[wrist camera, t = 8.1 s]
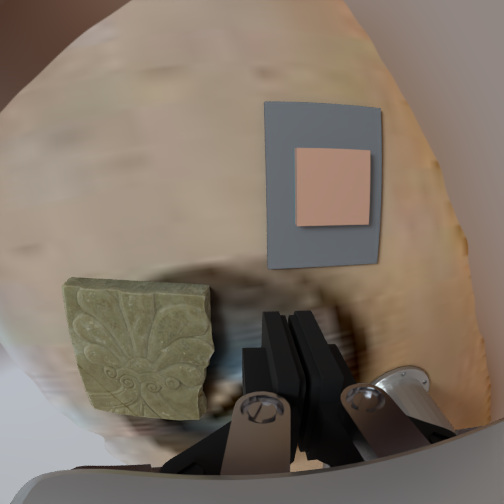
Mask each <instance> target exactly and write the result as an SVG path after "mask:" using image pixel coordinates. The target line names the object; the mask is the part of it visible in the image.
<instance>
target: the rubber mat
mask: <svg viewBox="0 0 504 504" xmlns="http://www.w3.org/2000/svg"><path fill="white" fill-rule="evenodd" d="M264 120H265V158H266V204H267V267H268V269H283V268H303V267H322V266H339V265H357V264H373V263H377V258H378V245H379V231H380V212H381V183H382V136H381V108H373V107H363V106H353V105H341V104H327V103H308V102H264ZM294 148H332V149H355V150H370V208H369V225H326V226H296V225H295V211H294Z"/></svg>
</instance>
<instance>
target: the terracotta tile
mask: <svg viewBox="0 0 504 504" xmlns="http://www.w3.org/2000/svg"><path fill="white" fill-rule="evenodd" d="M369 208H370V150H355V149H332V148H294V211H295V225H296V226H326V225H369Z"/></svg>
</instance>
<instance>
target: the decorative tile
mask: <svg viewBox="0 0 504 504" xmlns="http://www.w3.org/2000/svg"><path fill="white" fill-rule="evenodd" d="M62 293H63V300H64V306H65V312H66V317H67V323H68V328H69V334H70V338H71V342H72V346H73V350H74V354H75V357H76V361H77V365H78V369H79V372H80V375H81V378H82V381H83V384H84V387H85V390H86V393H87V395H88V398H89V400H90V403H91V405H92V407H93V408H95V409H98V410H103V411H108V412H113V413H117V414H124V415H133V416H143V417H150V418H163V419H171V420H190V419H200V417H201V415H202V414H205V413H206V412H207V400H206V397H205V394H204V391H203V383H204V380H205V378H206V375H207V374H206V367H207V366H208V365H209V361H210V357H211V356H212V354H213V352H214V343H213V340H212V324H211V306H210V288H209V285H202V284H185V283H167V282H151V281H129V280H112V279H92V278H76V277H71V278H69V279H68V280H67V282H65V283H64V284H63V285H62Z"/></svg>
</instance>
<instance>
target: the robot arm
mask: <svg viewBox="0 0 504 504" xmlns="http://www.w3.org/2000/svg"><path fill="white" fill-rule="evenodd" d="M242 378H243V396H242V397H241V398H240V399H239V400H238V401H237V402H236V404H235V406H234V411H233V416H232V421H230V422H229V423H227V424H226V425H224V426H223V427H221V428H220V429H218V430H217V431H215V432H214V433H212V434H211V435H209V436H208V437H206V438H204V439H203V440H201V441H200V442H198V443H196V444H195V445H193V446H192V447H190V448H188V449H187V450H185V451H184V452H182V453H180V454H179V455H177V456H175V457H173V458H172V459H170V460H169V461H168V462H166V463H165V464H164V465H163V466H162V467H153V468H152V467H151V464H143V465H121V466H79V467H76V468H74V469H71V470H62V471H55V472H50V473H46V474H42V475H39V476H37V477H35V478H33V479H31V480H30V481H29V482H27V483H26V484H25V485H24V486H23V487H22V488H21V489H20V490H19V492H18V493H17V494H16V495H15V497H14V499H13V500H12V502H11V503H10V504H504V418H502V419H499V420H497V421H494V422H492V423H490V424H487V425H484V426H480V427H474V428H467V429H460V430H456V431H455V429H454V428H453V426H452V425H451V424H450V422H449V421H448V419H447V418H446V417H445V415H444V414H443V413H442V411H441V410H440V409H439V407H438V406H437V405H436V403H435V402H434V401H433V399H432V398H431V397H430V395H429V394H428V391H429V378H428V377H427V375H426V374H425V372H424V371H423V370H422V369H420V368H418V367H414V366H405V367H400V368H396V369H393V370H391V371H389V372H387V373H385V374H384V375H382V376H380V377H379V378H378V379H376V380H375V381H374V382H373V383H372V384H364V383H360V384H357V383H356V381H355V379H354V378H353V376H352V374H351V372H350V370H349V368H348V366H347V364H346V362H345V361H344V359H343V357H342V355H341V353H340V351H339V349H338V347H337V346H336V345H335V344H327V342H326V340H325V338H324V336H323V334H322V332H321V330H320V328H319V326H318V324H317V322H316V320H315V318H314V316H313V314H312V312H311V311H295V312H294V315H289V318H288V323H287V320H286V317H285V315H280V313H279V311H276V312H263V317H262V346H261V348H243V349H242ZM297 443H298V446H299V450H300V452H306V456H307V460H316V459H317V460H319V461H321V462H323V469H315V470H307V471H298V472H290V464H291V463H292V462H293V461H294V458H295V453H296V448H297Z"/></svg>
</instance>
